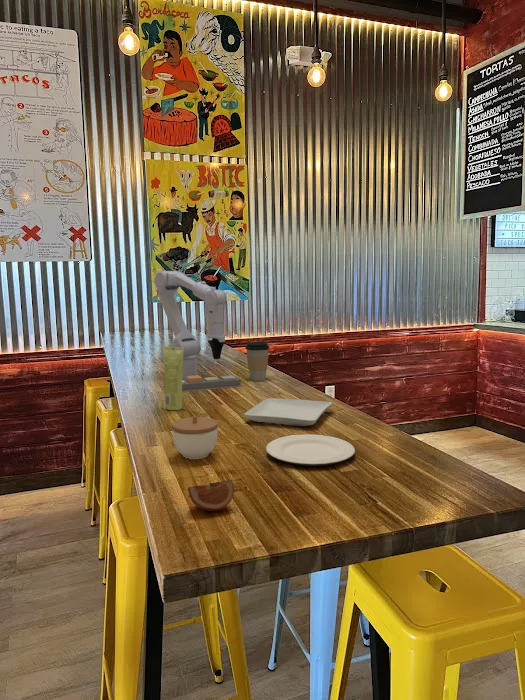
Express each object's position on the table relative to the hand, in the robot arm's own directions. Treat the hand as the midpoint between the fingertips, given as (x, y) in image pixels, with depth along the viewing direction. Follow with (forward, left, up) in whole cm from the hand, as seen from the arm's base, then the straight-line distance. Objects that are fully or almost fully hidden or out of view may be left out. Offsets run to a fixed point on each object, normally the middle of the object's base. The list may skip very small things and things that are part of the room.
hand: (216, 358), depth 203 cm
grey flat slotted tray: (+5, -7, -10) cm, 13 cm away
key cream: (+5, -17, -8) cm, 19 cm away
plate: (+83, -3, -10) cm, 84 cm away
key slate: (+5, +3, -8) cm, 10 cm away
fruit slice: (+102, -33, -10) cm, 108 cm away
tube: (+29, -23, -10) cm, 38 cm away
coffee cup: (+1, +16, -10) cm, 19 cm away
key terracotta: (+5, -10, -7) cm, 13 cm away
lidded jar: (+73, -28, -10) cm, 79 cm away
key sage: (+5, -4, -8) cm, 10 cm away
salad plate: (+52, +6, -10) cm, 53 cm away
